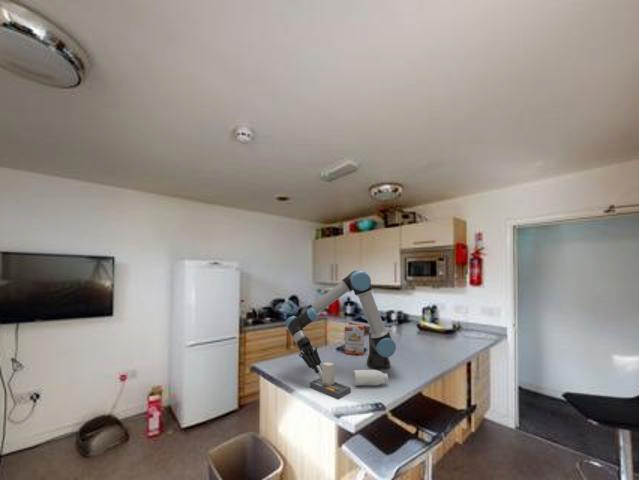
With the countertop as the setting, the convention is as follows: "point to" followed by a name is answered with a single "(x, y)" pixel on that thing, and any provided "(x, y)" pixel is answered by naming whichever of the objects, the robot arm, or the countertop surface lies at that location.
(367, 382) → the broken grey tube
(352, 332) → the cracker box
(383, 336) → the robot arm
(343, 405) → the countertop surface
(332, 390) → the switch plate
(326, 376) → the switch tab
